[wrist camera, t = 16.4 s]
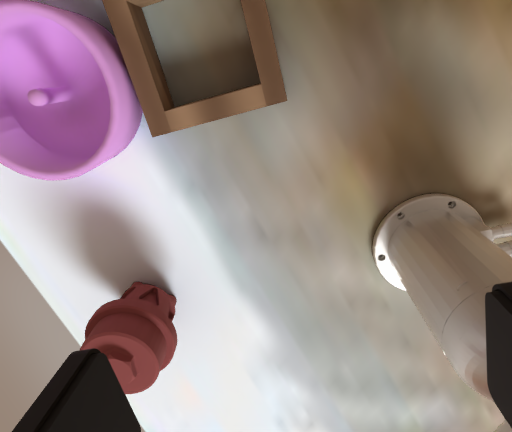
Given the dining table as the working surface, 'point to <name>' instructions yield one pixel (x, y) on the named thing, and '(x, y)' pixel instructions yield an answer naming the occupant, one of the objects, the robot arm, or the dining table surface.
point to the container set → (61, 92)
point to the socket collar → (154, 83)
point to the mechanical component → (135, 335)
